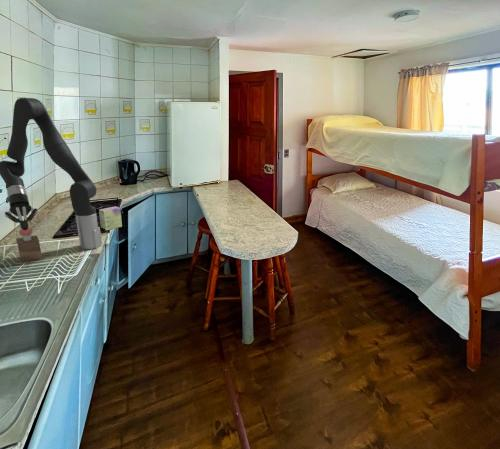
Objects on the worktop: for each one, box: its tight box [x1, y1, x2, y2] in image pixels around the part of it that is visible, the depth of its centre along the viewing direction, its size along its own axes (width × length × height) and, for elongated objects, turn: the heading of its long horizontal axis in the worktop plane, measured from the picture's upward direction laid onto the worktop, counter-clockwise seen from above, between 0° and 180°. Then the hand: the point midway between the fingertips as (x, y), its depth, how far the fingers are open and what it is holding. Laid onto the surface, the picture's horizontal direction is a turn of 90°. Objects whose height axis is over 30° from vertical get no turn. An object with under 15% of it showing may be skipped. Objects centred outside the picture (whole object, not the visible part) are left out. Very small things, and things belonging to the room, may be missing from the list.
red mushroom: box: [18, 227, 34, 241], centre depth 153 cm, size 5×5×10 cm
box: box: [98, 206, 123, 231], centre depth 197 cm, size 10×6×12 cm, turn 141°
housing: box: [16, 235, 43, 263], centre depth 154 cm, size 8×8×9 cm
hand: (25, 228), depth 151 cm, fingers closed
